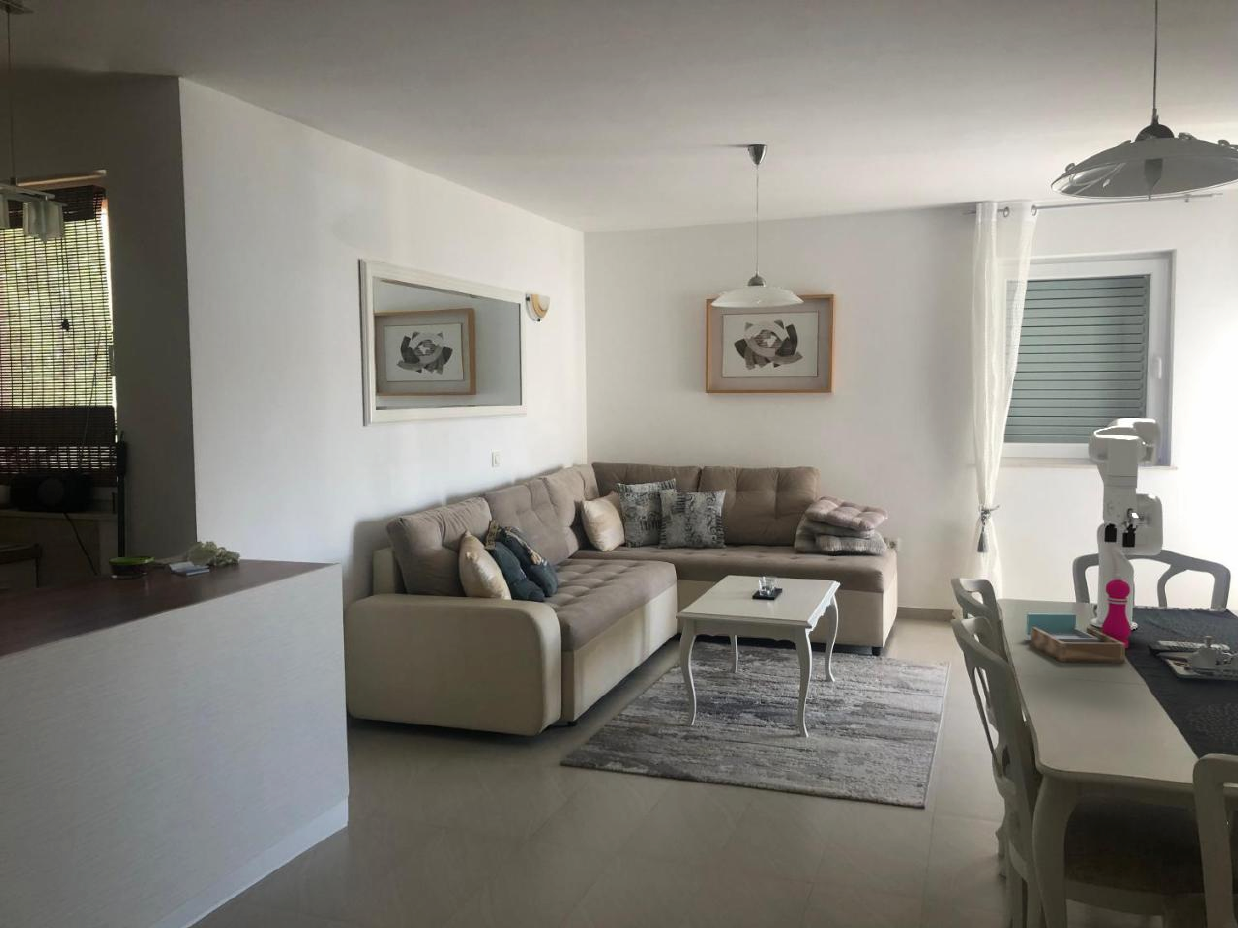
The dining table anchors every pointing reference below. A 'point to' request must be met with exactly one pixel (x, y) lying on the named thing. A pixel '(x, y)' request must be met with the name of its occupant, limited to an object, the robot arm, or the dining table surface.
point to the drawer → (1058, 627)
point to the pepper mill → (1117, 611)
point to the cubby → (1080, 648)
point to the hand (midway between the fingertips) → (1119, 544)
